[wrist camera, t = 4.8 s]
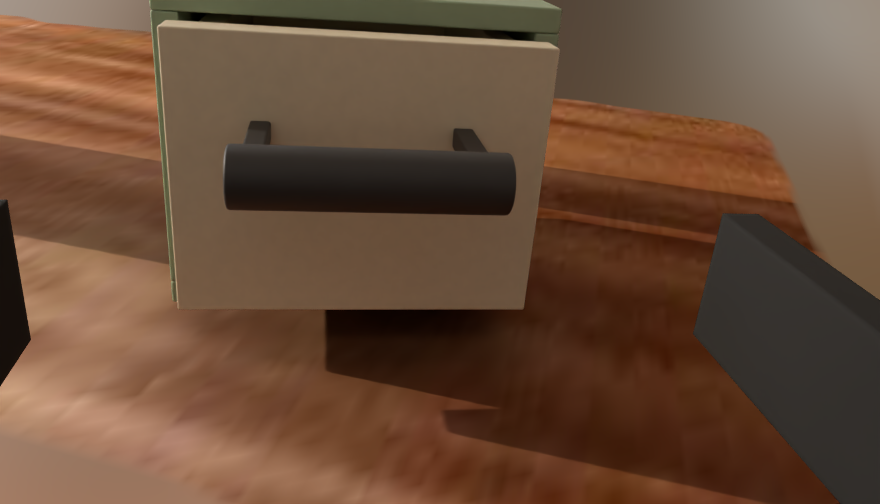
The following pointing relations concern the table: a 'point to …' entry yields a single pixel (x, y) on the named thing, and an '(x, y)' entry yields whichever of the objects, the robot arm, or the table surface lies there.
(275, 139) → the drawer
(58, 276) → the table surface
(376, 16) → the cabinet
